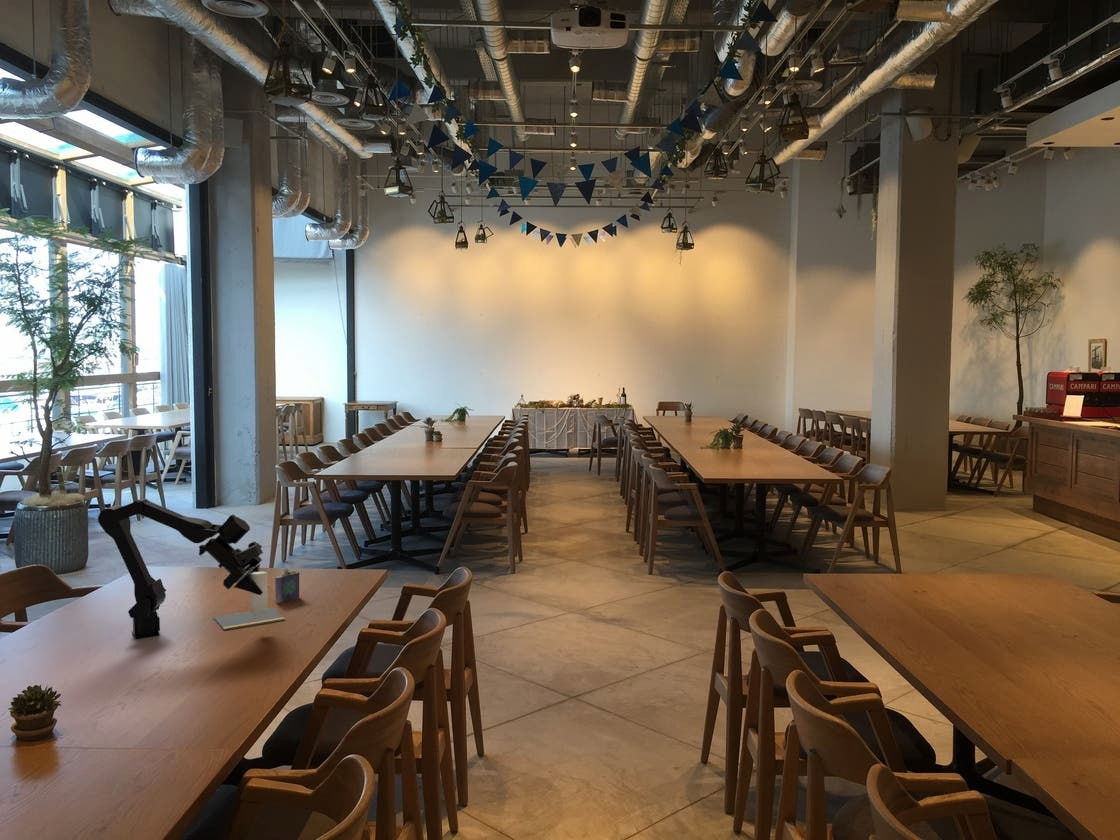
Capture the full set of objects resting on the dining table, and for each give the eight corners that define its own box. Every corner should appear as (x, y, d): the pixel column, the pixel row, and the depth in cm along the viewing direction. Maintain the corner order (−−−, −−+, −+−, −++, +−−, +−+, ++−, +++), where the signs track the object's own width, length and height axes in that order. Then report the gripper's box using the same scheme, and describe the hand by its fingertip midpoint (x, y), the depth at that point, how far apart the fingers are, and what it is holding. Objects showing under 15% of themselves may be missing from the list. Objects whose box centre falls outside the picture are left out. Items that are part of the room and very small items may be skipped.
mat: (224, 630, 258) (224, 628, 258) (213, 618, 270) (213, 616, 270) (285, 620, 269) (285, 618, 268) (272, 609, 280) (272, 607, 280)
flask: (278, 604, 285) (278, 572, 284) (272, 603, 287) (272, 571, 286) (301, 598, 293) (300, 566, 292) (295, 596, 294) (295, 565, 294)
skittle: (254, 616, 252) (253, 576, 252) (249, 612, 256) (248, 572, 255) (270, 614, 255) (269, 573, 254) (265, 610, 259) (264, 570, 258)
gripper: (233, 542, 244) (274, 580, 246) (254, 528, 263) (292, 564, 264) (205, 569, 245) (246, 608, 246) (228, 554, 263) (266, 590, 265)
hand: (264, 591), depth 255 cm, fingers closed on skittle, 5 cm apart
